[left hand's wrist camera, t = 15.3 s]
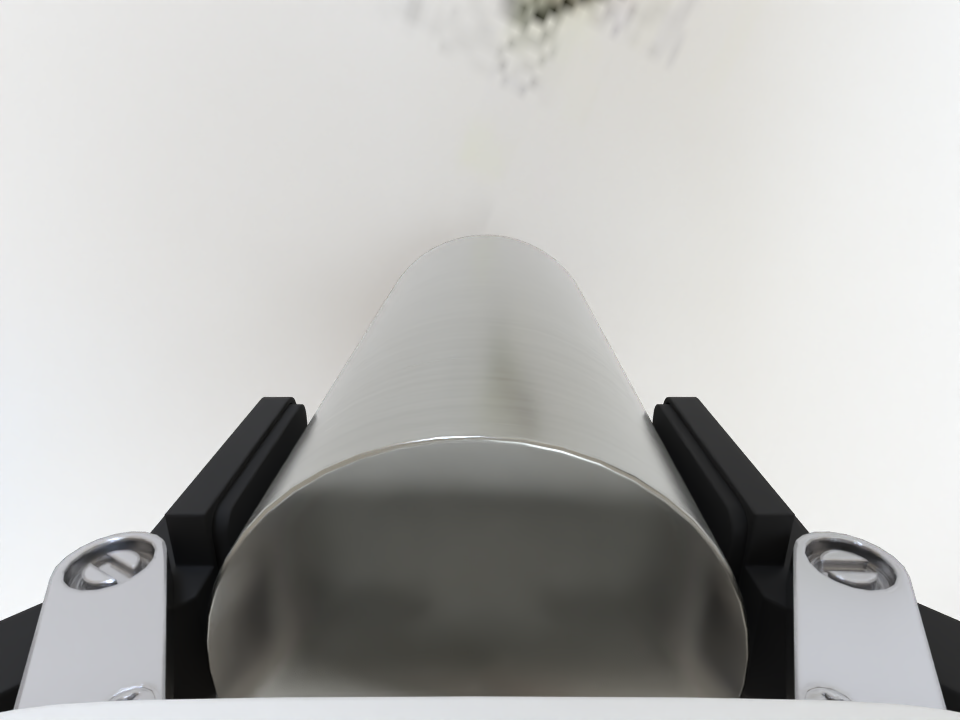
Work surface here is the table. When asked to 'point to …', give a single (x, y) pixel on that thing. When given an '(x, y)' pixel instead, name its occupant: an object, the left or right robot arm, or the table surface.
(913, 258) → the table surface
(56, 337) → the table surface
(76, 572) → the left robot arm
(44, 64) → the table surface
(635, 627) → the can
